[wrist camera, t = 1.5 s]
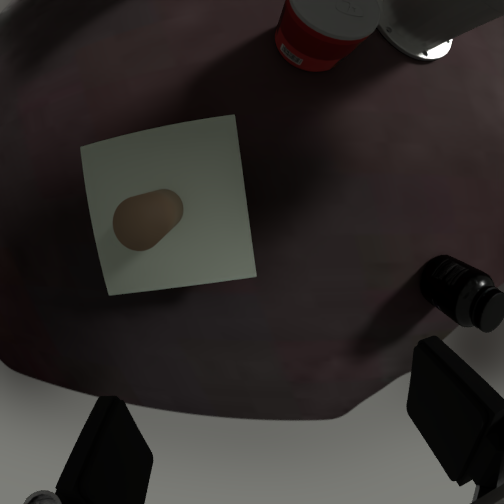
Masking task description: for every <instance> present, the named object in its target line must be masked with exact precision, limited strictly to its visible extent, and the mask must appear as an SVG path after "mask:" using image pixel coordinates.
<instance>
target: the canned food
mask: <svg viewBox="0 0 504 504" xmlns="http://www.w3.org/2000/svg"><path fill="white" fill-rule="evenodd" d="M380 17H381V12H380V7H379V4H378V2H377V0H286V1H285V4H284V7H283V10H282V13H281V16H280V19H279V23H278V26H277V29H276V33H275V42H276V46H277V48H278V50H279V52H280V54H281V55H282V56H283V58H284V59H285V60H286V61H287V62H289V63H290V64H291V65H293V66H295V67H297V68H299V69H301V70H305V71H311V72H320V71H326V70H329V69H332V68H334V67H335V66H337V65H338V64H339V63H340V62H341V61H342V60H343V59H344V58H345V57H347V56H348V55H349V54H350V53H351V52H352V51H353V50H354V49H355V48H356V47H358V46H359V45H360V44H361V43H362V42H363V41H364V40H365V39H366V38H368V36H369V35H371V34H372V33H373V31H374V30H375V29H376V27H377V26H378V24H379V22H380Z"/></svg>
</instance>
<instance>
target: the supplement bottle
mask: <svg viewBox="0 0 504 504" xmlns="http://www.w3.org/2000/svg"><path fill="white" fill-rule="evenodd" d="M420 287H421V292H422V295H423V296H424V298H425V299H426V300H427V301H428V302H430V303H431V304H432V305H434V306H435V307H436V308H438V309H439V310H440V311H442V312H443V313H444V314H446V315H447V316H448V317H450V318H451V319H452V320H453V321H455V322H456V323H457V324H459V325H460V326H462V327H473V326H475V327H476V328H479V329H480V330H481V331H483V332H486V333H487V332H491V331H492V330H494V329H495V328H496V327H497V326H498V325H499V324H500V323H501V321H502V320H503V318H504V293H503V292H501V291H500V290H499V289H498V288H496V287H495V285H494V282H493V280H492V278H491V277H490V276H489V275H488V274H486V273H484V272H483V271H481V270H479V269H477V268H474V267H472V266H470V265H468V264H466V263H464V262H462V261H460V260H458V259H456V258H453V257H451V256H449V255H440V256H437V257H435V258H434V259H432V260H431V261H430V262H429V263H428V264H427V266H426V267H425V269H424V271H423V273H422V277H421V283H420Z"/></svg>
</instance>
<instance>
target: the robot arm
mask: <svg viewBox="0 0 504 504" xmlns="http://www.w3.org/2000/svg"><path fill="white" fill-rule="evenodd" d="M377 2H378V4H379V7H380V12H381V17H380V22H379V24H378V26H377V28H378V30H379V31H380V33H381V34H382V35H383V36H384V37H385V39H386V40H387V41H388V42H389V43H391V44H392V45H393V46H394V47H395V48H397V49H398V50H399V51H401V52H402V53H404V54H406V55H408V56H409V57H412V58H415V59H417V60H422V61H434V60H437V59H439V58H441V57H443V56H445V55H446V54H447V53H448V51H449V50H450V48H451V45H452V39H453V38H455V37H457V36H459V35H461V34H463V33H465V32H468V31H470V30H472V29H474V28H476V27H478V26H481V25H483V24H485V23H487V22H489V21H492V20H494V19H496V18H499V17H501V16H503V15H504V0H377ZM407 412H408V415H409V416H410V418H411V419H412V421H413V422H414V424H415V425H416V427H417V428H418V430H419V431H420V433H421V435H422V436H423V438H424V439H425V440H426V442H427V444H428V445H429V447H430V448H431V450H432V451H433V453H434V455H435V456H436V458H437V459H438V461H439V462H440V464H441V466H442V467H443V468H444V470H445V472H446V473H447V475H448V477H449V478H450V479H451V480H452V481H457V483H458V485H459V486H462V485H464V484H465V483H467V482H469V481H471V480H472V479H473V481H474V482H475V484H476V488H475V493H474V497H473V501H472V503H471V504H504V399H503V398H502V397H501V396H500V395H499V394H498V393H497V392H496V391H495V390H494V389H493V388H492V387H491V386H490V385H489V384H488V383H487V382H486V381H485V380H484V379H483V378H482V377H481V376H480V375H478V374H477V373H476V372H475V371H474V370H473V369H472V368H471V367H470V366H469V365H468V364H467V363H466V362H465V361H464V360H462V359H461V358H460V357H459V356H458V355H457V354H456V353H455V352H454V351H453V350H451V349H450V348H449V347H448V346H447V345H446V344H445V343H444V342H443V341H442V340H440V339H439V338H438V337H437V336H431V337H428V338H425V339H423V340H420V341H419V342H418V345H417V346H416V347H415V348H414V352H413V362H412V371H411V379H410V387H409V393H408V400H407ZM152 465H153V455H152V452H151V450H150V448H149V447H148V445H147V443H146V442H145V440H144V438H143V436H142V434H141V433H140V431H139V429H138V427H137V425H136V424H135V422H134V420H133V418H132V416H131V414H130V412H129V410H128V408H127V407H126V404H125V402H124V401H123V400H120V399H119V398H118V397H117V396H100V397H99V398H98V400H97V402H96V404H95V406H94V408H93V410H92V411H91V414H90V416H89V417H88V419H87V421H86V423H85V425H84V427H83V429H82V431H81V433H80V436H79V438H78V440H77V442H76V444H75V446H74V448H73V450H72V452H71V454H70V456H69V459H68V461H67V463H66V465H65V467H64V470H63V472H62V474H61V476H60V478H59V481H58V483H57V485H56V489H57V490H56V493H55V494H54V493H53V492H50V491H45V490H41V491H37V492H35V493H33V494H31V495H30V496H29V497H28V498H27V499H26V500H25V502H24V504H144V503H145V498H146V493H147V488H148V483H149V479H150V474H151V469H152Z"/></svg>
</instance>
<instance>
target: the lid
mask: <svg viewBox="0 0 504 504" xmlns="http://www.w3.org/2000/svg"><path fill="white" fill-rule="evenodd" d="M80 149H81V158H82V166H83V174H84V181H85V187H86V194H87V200H88V206H89V211H90V217H91V222H92V227H93V232H94V237H95V241H96V246H97V250H98V255H99V259H100V263H101V267H102V271H103V275H104V279H105V283H106V287H107V291H108V294H109V295H118V294H127V293H135V292H144V291H152V290H160V289H168V288H176V287H184V286H192V285H199V284H207V283H214V282H222V281H229V280H236V279H244V278H251V277H257V276H256V268H255V261H254V254H253V246H252V239H251V231H250V224H249V216H248V209H247V201H246V194H245V186H244V179H243V171H242V164H241V156H240V149H239V142H238V134H237V127H236V119H235V114H234V115H227V116H219V117H213V118H206V119H200V120H194V121H188V122H183V123H177V124H172V125H167V126H162V127H157V128H153V129H148V130H144V131H139V132H135V133H131V134H127V135H122V136H118V137H115V138H111V139H107V140H103V141H100V142H96V143H92V144H89V145H85V146H82V147H80Z"/></svg>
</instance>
